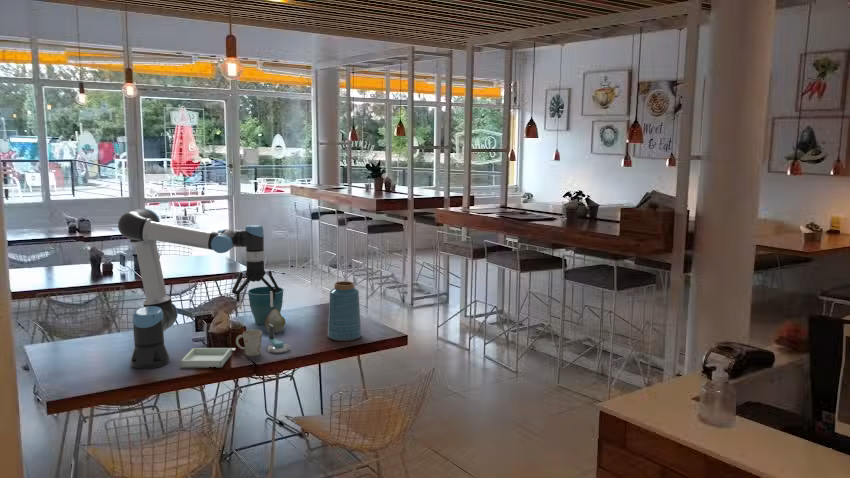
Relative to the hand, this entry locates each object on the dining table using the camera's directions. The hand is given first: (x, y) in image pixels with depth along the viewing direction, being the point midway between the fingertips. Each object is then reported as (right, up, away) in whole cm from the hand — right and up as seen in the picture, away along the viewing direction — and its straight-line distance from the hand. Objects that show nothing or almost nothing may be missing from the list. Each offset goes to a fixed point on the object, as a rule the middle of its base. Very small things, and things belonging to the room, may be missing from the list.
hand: (256, 307), depth 293 cm
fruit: (0, -16, +36) cm, 39 cm away
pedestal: (+8, -20, +8) cm, 23 cm away
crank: (+6, -18, +12) cm, 22 cm away
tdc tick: (-13, -20, +8) cm, 25 cm away
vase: (+36, -18, +29) cm, 49 cm away
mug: (-4, -21, +3) cm, 22 cm away
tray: (-19, -22, -7) cm, 30 cm away
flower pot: (-8, -13, +53) cm, 55 cm away
